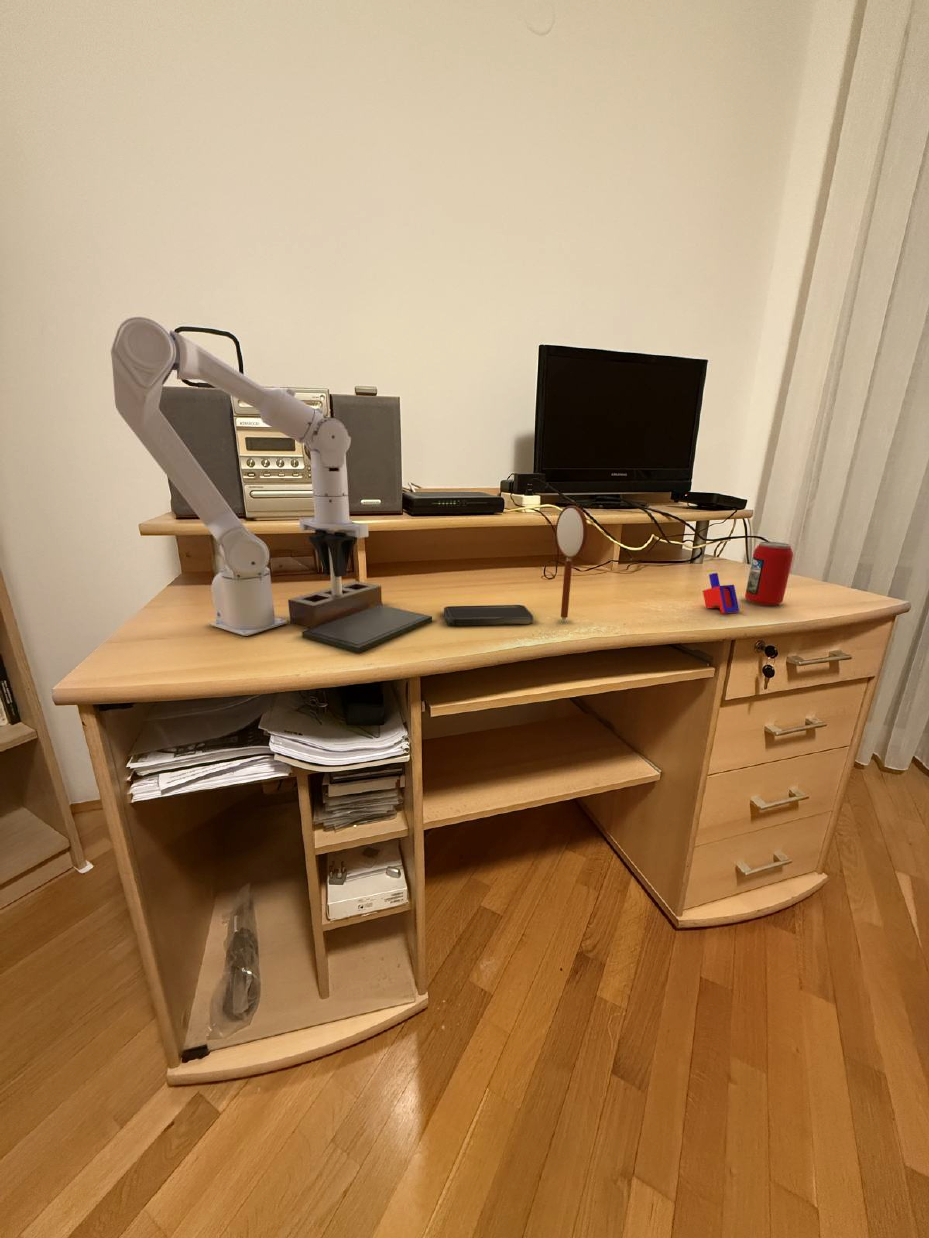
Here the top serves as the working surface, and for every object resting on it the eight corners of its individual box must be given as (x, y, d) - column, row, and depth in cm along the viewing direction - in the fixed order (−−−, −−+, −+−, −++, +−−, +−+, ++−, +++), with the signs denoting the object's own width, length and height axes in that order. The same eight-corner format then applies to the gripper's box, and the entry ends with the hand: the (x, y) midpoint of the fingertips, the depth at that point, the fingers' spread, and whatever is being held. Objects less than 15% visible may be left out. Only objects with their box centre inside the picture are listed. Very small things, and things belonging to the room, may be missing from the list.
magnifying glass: (547, 615, 89) (554, 503, 83) (555, 614, 90) (563, 503, 84) (573, 630, 82) (583, 508, 75) (581, 629, 82) (593, 508, 76)
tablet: (302, 637, 76) (301, 631, 76) (379, 609, 91) (379, 604, 91) (358, 654, 70) (358, 647, 70) (432, 621, 85) (432, 615, 84)
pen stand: (289, 622, 83) (287, 599, 82) (357, 600, 96) (356, 580, 95) (315, 629, 80) (314, 605, 79) (382, 606, 93) (381, 585, 92)
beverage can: (746, 596, 105) (757, 540, 101) (783, 601, 101) (796, 543, 97) (741, 603, 99) (753, 544, 96) (780, 609, 96) (794, 548, 92)
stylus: (330, 602, 87) (325, 540, 84) (337, 599, 89) (333, 539, 85) (337, 603, 86) (333, 541, 83) (344, 601, 88) (341, 540, 84)
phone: (443, 606, 89) (523, 604, 91) (443, 612, 90) (523, 610, 92) (447, 619, 82) (534, 617, 84) (447, 626, 82) (534, 623, 84)
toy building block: (722, 615, 96) (714, 576, 97) (739, 611, 92) (731, 570, 93) (707, 616, 95) (699, 577, 96) (724, 612, 91) (716, 571, 92)
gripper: (379, 496, 81) (382, 576, 86) (319, 492, 89) (324, 566, 93) (348, 499, 76) (353, 584, 80) (286, 494, 83) (294, 572, 87)
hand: (335, 575), depth 86 cm, fingers closed on stylus, 2 cm apart
